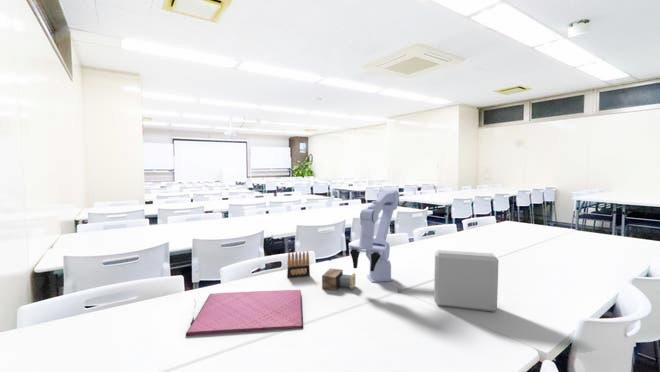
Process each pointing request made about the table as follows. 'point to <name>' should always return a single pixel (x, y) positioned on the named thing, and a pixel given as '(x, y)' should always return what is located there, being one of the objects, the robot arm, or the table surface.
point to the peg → (347, 280)
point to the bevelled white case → (466, 280)
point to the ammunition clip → (298, 266)
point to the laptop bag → (248, 312)
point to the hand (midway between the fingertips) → (363, 269)
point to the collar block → (331, 279)
